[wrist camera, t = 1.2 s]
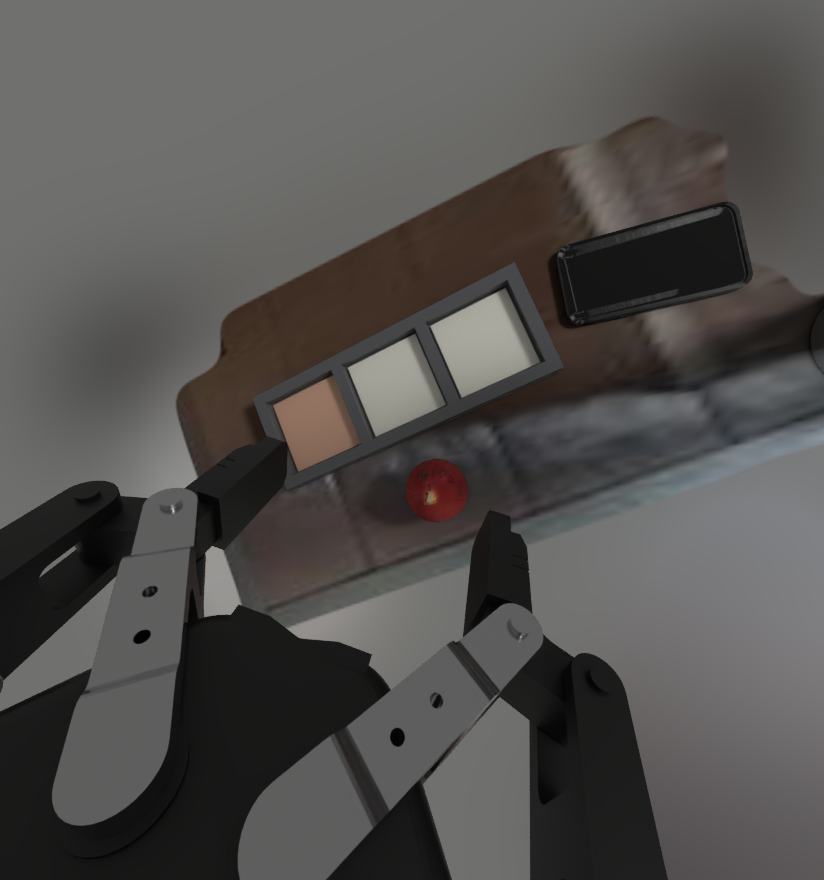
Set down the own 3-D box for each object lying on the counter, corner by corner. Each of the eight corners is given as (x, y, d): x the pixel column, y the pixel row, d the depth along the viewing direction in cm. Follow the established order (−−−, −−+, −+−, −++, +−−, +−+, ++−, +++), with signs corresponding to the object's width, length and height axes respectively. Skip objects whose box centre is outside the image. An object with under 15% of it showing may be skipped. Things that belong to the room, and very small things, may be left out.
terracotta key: (335, 375, 38) (334, 374, 37) (362, 443, 37) (361, 443, 36) (275, 406, 39) (273, 405, 39) (300, 471, 38) (298, 471, 38)
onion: (408, 466, 37) (386, 472, 29) (460, 450, 36) (452, 453, 28) (424, 519, 36) (406, 539, 29) (477, 505, 35) (473, 523, 27)
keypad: (512, 275, 35) (514, 262, 32) (558, 372, 34) (564, 367, 31) (267, 401, 41) (252, 398, 38) (299, 487, 40) (286, 490, 37)
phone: (555, 247, 33) (736, 197, 30) (553, 254, 34) (728, 206, 31) (571, 327, 33) (756, 285, 30) (568, 331, 34) (746, 290, 31)
